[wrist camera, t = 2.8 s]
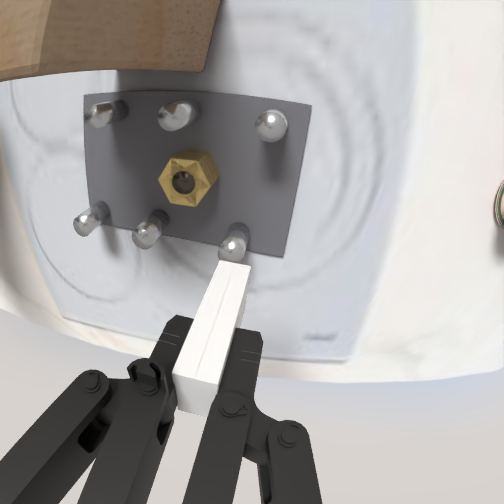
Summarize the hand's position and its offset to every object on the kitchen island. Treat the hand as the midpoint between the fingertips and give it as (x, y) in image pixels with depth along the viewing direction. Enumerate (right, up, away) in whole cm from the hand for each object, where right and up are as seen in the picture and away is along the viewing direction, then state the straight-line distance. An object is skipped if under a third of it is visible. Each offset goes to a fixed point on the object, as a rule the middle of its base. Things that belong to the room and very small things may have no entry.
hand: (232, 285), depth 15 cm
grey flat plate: (-7, +10, +14) cm, 19 cm away
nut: (-5, +10, +14) cm, 17 cm away
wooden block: (-7, +23, +6) cm, 25 cm away
